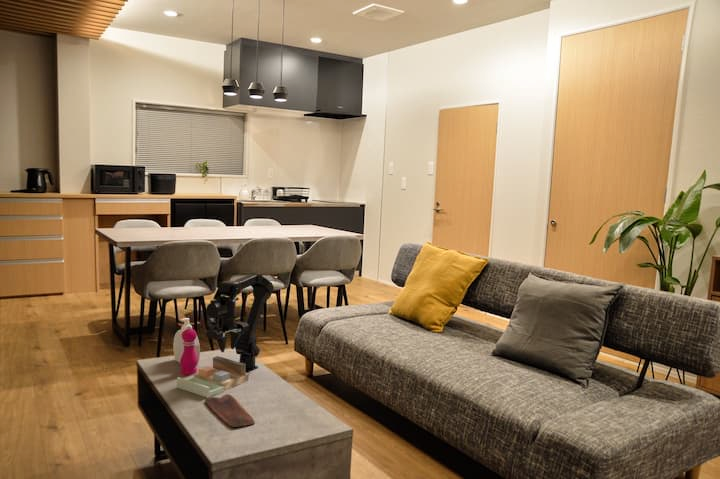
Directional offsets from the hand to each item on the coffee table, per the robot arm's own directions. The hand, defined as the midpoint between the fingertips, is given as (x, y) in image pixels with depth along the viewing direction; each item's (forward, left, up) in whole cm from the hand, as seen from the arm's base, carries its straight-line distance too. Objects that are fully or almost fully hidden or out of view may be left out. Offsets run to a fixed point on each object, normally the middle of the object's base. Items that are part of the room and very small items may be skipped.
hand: (227, 350), depth 221 cm
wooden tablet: (+17, +26, -12) cm, 33 cm away
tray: (+14, 0, -12) cm, 18 cm away
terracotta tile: (+7, -4, -9) cm, 12 cm away
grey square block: (+7, +4, -9) cm, 12 cm away
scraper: (-1, 0, -9) cm, 9 cm away
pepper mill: (+4, -18, -12) cm, 22 cm away
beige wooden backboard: (+3, 0, -12) cm, 12 cm away
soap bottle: (-3, -28, -12) cm, 31 cm away
